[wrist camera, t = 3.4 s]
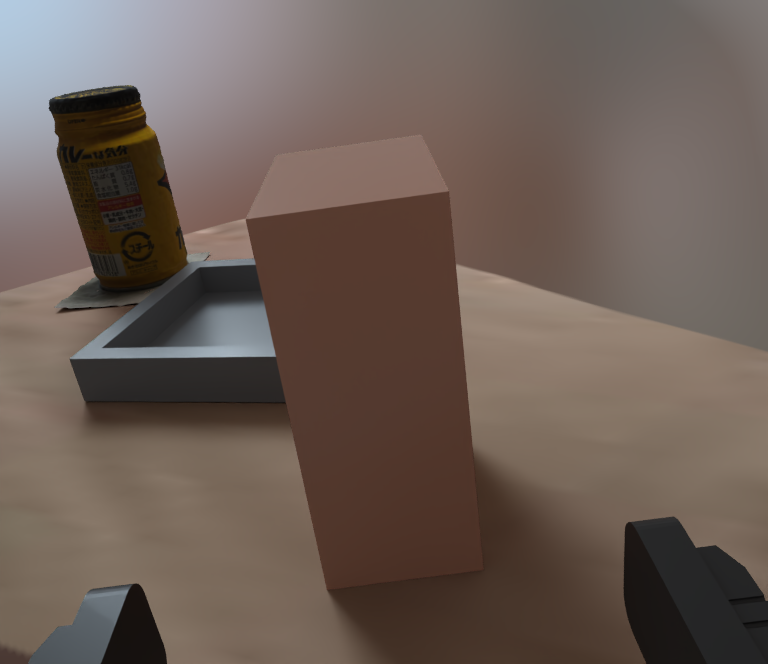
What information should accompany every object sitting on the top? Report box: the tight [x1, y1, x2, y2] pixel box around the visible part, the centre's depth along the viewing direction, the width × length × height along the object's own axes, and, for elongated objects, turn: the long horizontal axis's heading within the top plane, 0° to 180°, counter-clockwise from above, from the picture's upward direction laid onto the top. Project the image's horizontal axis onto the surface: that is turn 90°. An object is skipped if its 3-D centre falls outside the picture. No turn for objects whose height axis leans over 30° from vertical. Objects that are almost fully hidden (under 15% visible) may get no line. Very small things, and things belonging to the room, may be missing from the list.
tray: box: [70, 259, 286, 402], centre depth 36 cm, size 12×12×2 cm
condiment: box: [49, 85, 210, 308], centre depth 45 cm, size 7×8×12 cm
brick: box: [246, 135, 484, 590], centre depth 21 cm, size 4×7×11 cm, turn 2°
